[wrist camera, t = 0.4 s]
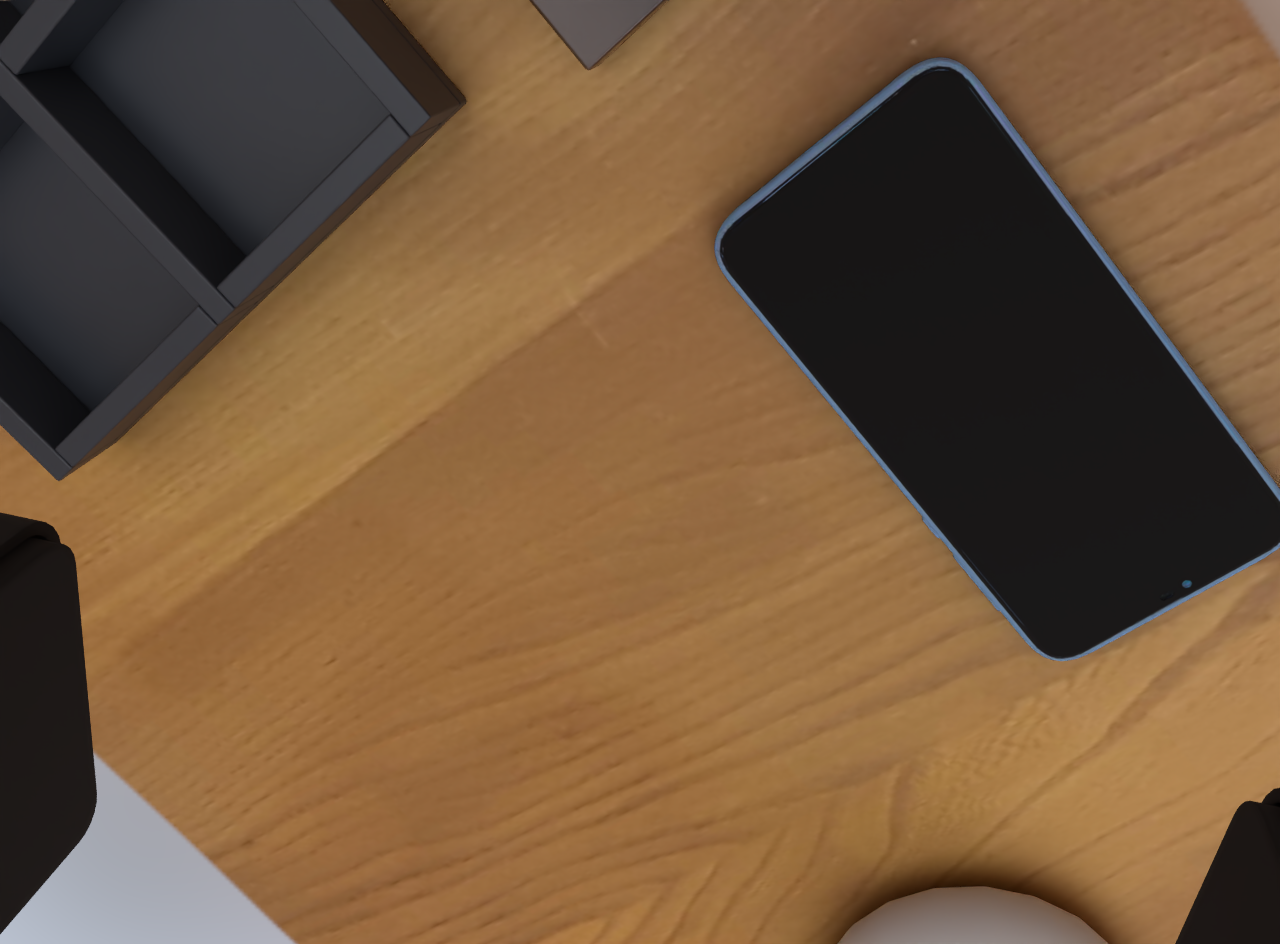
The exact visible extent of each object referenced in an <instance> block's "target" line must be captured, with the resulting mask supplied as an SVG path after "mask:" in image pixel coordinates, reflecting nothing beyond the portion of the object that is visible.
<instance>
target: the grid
mask: <svg viewBox="0 0 1280 944" xmlns="http://www.w3.org/2000/svg"><path fill="white" fill-rule="evenodd" d="M465 103H466V99H465V97H464V96H463V95H462V94H461V93H460V92H459V90H458V89H457V88H456V87H455V86H454V84H453V83H452V82H451V81H450V80H449V79H448V77H447V76H446V75H445V74H444V73H443V72H442V70H441V69H440V68H439V67H438V66H437V65H436V63H435V62H434V61H433V60H432V59H431V57H430V56H429V55H428V54H427V53H426V52H425V50H424V49H423V48H422V47H421V46H420V45H419V43H418V42H417V41H416V40H415V39H414V37H413V36H412V35H411V34H410V33H409V32H408V30H407V29H406V28H405V27H404V26H403V25H402V23H401V22H400V21H399V20H398V19H397V18H396V16H395V15H394V14H393V13H392V12H391V10H390V9H389V8H388V7H387V6H386V5H385V3H384V2H383V1H382V0H5V1H0V425H1V426H2V427H3V428H4V429H5V430H6V431H7V432H8V433H9V434H10V435H11V436H12V437H13V438H14V439H15V440H17V441H18V442H19V443H20V444H21V445H22V446H23V447H24V448H25V449H26V450H27V451H28V452H29V453H30V454H31V455H32V456H33V457H34V458H35V459H36V460H37V461H38V462H39V463H40V464H41V465H42V466H43V467H44V468H45V469H46V470H47V471H48V472H49V473H50V474H51V475H52V476H53V477H54V478H55V479H56V480H58V481H60V480H62V479H63V478H65V477H66V476H68V475H69V474H71V473H72V472H74V471H75V470H77V469H78V468H80V467H81V466H82V465H84V464H85V463H87V462H88V461H90V460H91V459H93V458H94V457H96V456H97V455H98V454H100V453H101V452H103V451H104V450H105V449H107V448H109V447H110V446H112V445H113V444H114V443H116V442H117V441H118V440H119V439H120V438H121V437H122V436H123V435H124V434H125V433H126V432H127V431H128V430H129V429H130V428H131V427H132V426H133V425H134V424H135V423H136V422H137V421H139V420H140V419H141V418H142V417H143V416H144V415H145V414H146V413H147V412H148V411H149V410H150V409H151V408H152V407H153V406H154V405H155V404H156V403H157V402H158V401H159V400H160V399H161V398H162V397H163V396H164V395H165V394H166V393H167V392H168V391H169V390H170V389H172V388H173V387H174V386H175V385H176V384H177V383H178V382H179V381H180V380H181V379H182V378H183V377H184V376H185V375H186V374H187V373H188V372H189V371H190V370H191V369H192V368H193V367H194V366H195V365H196V364H197V363H198V362H199V361H200V360H201V359H202V358H204V357H205V356H206V355H207V354H208V353H209V352H210V351H211V350H212V349H213V348H214V347H215V346H216V345H217V344H218V343H219V342H220V341H221V340H222V339H223V338H224V337H225V336H226V335H227V334H228V333H229V332H230V331H231V330H232V329H233V328H234V327H235V326H237V325H238V324H239V323H240V322H241V321H242V320H243V319H244V318H245V317H246V316H247V315H248V314H249V313H250V312H251V311H252V310H253V309H254V308H255V307H256V306H257V305H258V304H259V303H260V302H261V301H262V300H263V299H264V298H265V297H266V296H267V295H268V294H270V293H271V292H272V291H273V290H274V289H275V288H276V287H277V286H278V285H279V284H280V283H281V282H282V281H283V280H284V279H285V278H286V277H287V276H288V275H289V274H290V273H291V272H292V271H293V270H294V269H295V268H296V267H297V266H298V265H299V264H300V263H301V262H303V261H304V260H305V259H306V258H307V257H308V256H309V255H310V254H311V253H312V252H313V251H314V250H315V249H316V248H317V247H318V246H319V245H320V244H321V243H322V242H323V241H324V240H325V239H326V238H327V237H328V236H329V235H330V234H331V233H332V232H333V231H334V230H336V229H337V228H338V227H339V226H340V225H341V224H342V223H343V222H344V221H345V220H346V219H347V218H348V217H349V216H350V215H351V214H352V213H353V212H354V211H355V210H356V209H357V208H358V207H359V206H360V205H361V204H362V203H363V202H364V201H365V200H366V199H368V198H369V197H370V196H371V195H372V194H373V193H374V192H375V191H376V190H377V189H378V188H379V187H380V186H381V185H382V184H383V183H384V182H385V181H386V180H387V179H388V178H389V177H390V176H391V175H392V174H393V173H394V172H395V171H396V170H397V169H398V168H399V167H401V166H402V165H403V164H404V163H405V162H406V161H407V160H408V159H409V158H410V157H411V156H412V155H413V154H414V153H415V152H416V151H417V150H418V149H419V148H420V147H421V146H422V145H423V144H424V143H425V142H426V141H427V140H428V139H429V138H430V137H431V136H432V135H434V134H435V133H436V132H437V131H438V130H439V129H440V128H441V127H442V126H443V125H444V124H445V123H446V122H447V121H448V120H449V119H450V118H451V117H452V116H453V115H454V114H455V113H456V112H457V111H458V110H459V109H460V108H461V107H462V106H463V105H464V104H465Z"/></svg>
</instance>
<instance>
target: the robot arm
mask: <svg viewBox="0 0 1280 944" xmlns="http://www.w3.org/2000/svg"><path fill="white" fill-rule="evenodd" d="M96 802H97V790H96V779H95V768H94V757H93V746H92V735H91V724H90V713H89V702H88V691H87V680H86V669H85V658H84V647H83V637H82V626H81V615H80V604H79V593H78V582H77V571H76V562H75V558H74V554H73V552H72V551H71V549H70V548H69V547H68V546H66V545H64V544H61V543H60V539H59V535H58V534H57V532H56V530H55V529H54V527H53V526H51V525H49V524H47V523H46V522H42V521H37V520H32V519H28V518H23V517H18V516H14V515H9V514H4V513H0V934H1V933H2V932H3V930H4V929H5V928H6V927H7V926H8V925H9V923H10V922H11V921H12V920H13V919H14V918H15V916H16V915H17V914H18V913H19V912H20V911H21V909H22V908H23V907H24V906H25V905H26V904H27V902H28V901H29V900H30V899H31V898H32V896H33V895H34V894H35V893H36V892H37V891H38V890H39V888H40V887H41V886H42V885H43V884H44V883H45V881H46V880H47V879H48V878H49V877H50V876H51V874H52V873H53V872H54V871H55V870H56V869H57V867H58V866H59V865H60V864H61V863H62V862H63V860H64V859H65V858H66V857H67V856H68V855H69V853H70V852H71V851H72V850H73V849H74V847H75V846H76V845H77V844H78V843H79V842H80V840H81V839H82V838H83V836H84V835H85V833H86V831H87V829H88V827H89V825H90V823H91V821H92V818H93V815H94V812H95V807H96ZM1175 944H1280V788H1277V789H1273V790H1272V791H1271V792H1270V793H1269V794H1268V795H1266V797H1265V798H1264V800H1263V802H1262V803H1258V802H1254V801H1246V802H1244V803H1243V804H1241V805H1240V806H1239V807H1238V809H1237V811H1236V812H1235V814H1234V816H1233V818H1232V820H1231V823H1230V825H1229V827H1228V829H1227V831H1226V834H1225V836H1224V838H1223V840H1222V842H1221V844H1220V847H1219V849H1218V851H1217V853H1216V855H1215V858H1214V860H1213V862H1212V864H1211V866H1210V869H1209V871H1208V873H1207V875H1206V877H1205V880H1204V882H1203V884H1202V886H1201V888H1200V891H1199V893H1198V895H1197V897H1196V899H1195V902H1194V904H1193V906H1192V908H1191V910H1190V913H1189V915H1188V917H1187V919H1186V921H1185V924H1184V926H1183V928H1182V930H1181V932H1180V935H1179V937H1178V939H1177V941H1176V943H1175Z"/></svg>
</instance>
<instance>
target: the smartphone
mask: <svg viewBox="0 0 1280 944" xmlns="http://www.w3.org/2000/svg"><path fill="white" fill-rule="evenodd" d="M714 250H715V257H716V259H717V262H718V265H719V267H720V269H721V270H722V272H723V274H724V275H725V277H726V278H727V280H728V281H729V282H730V283H731V285H732V286H733V287H734V288H735V289H736V291H737V292H738V293H739V294H740V296H741V297H742V298H743V299H744V300H745V302H746V303H747V304H748V305H749V306H750V308H751V309H752V310H753V311H754V313H755V314H756V315H757V316H758V317H759V319H760V320H761V321H762V322H763V323H764V325H765V326H766V327H767V328H768V330H769V331H770V332H771V333H772V334H773V336H774V337H775V338H776V339H777V340H778V342H779V343H780V344H781V345H782V347H783V348H784V349H785V350H786V351H787V353H788V354H789V355H790V356H791V357H792V359H793V360H794V361H795V362H796V364H797V365H798V366H799V367H800V368H801V370H802V371H803V372H804V373H805V374H806V376H807V377H808V378H809V379H810V381H811V382H812V383H813V384H814V385H815V387H816V388H817V389H818V390H819V391H820V393H821V394H822V395H823V396H824V398H825V399H826V400H827V401H828V402H829V404H830V405H831V406H832V407H833V408H834V410H835V411H836V412H837V413H838V415H839V416H840V417H841V418H842V419H843V421H844V422H845V423H846V424H847V425H848V427H849V428H850V429H851V430H852V432H853V433H854V434H855V435H856V436H857V438H858V439H859V440H860V441H861V442H862V444H863V445H864V446H865V447H866V449H867V450H868V451H869V452H870V453H871V455H872V456H873V457H874V458H875V459H876V461H877V462H878V463H879V464H880V466H881V467H882V468H883V469H884V470H885V472H886V473H887V474H888V475H889V476H890V478H891V479H892V480H893V481H894V483H895V484H896V485H897V486H898V487H899V489H900V490H901V491H902V492H903V493H904V495H905V496H906V497H907V498H908V500H909V501H910V502H911V503H912V504H913V506H914V507H915V508H916V509H917V510H918V512H919V513H920V514H921V515H922V520H923V521H924V523H925V524H926V525H927V526H928V528H929V529H930V530H931V531H932V532H933V534H934V535H935V536H936V537H937V538H941V540H942V541H943V542H944V543H945V544H946V546H947V547H948V548H949V549H950V551H951V552H952V553H953V557H954V558H955V560H956V561H957V562H958V563H959V564H960V566H961V567H962V568H963V569H964V570H965V572H966V573H967V574H968V575H969V576H970V578H971V579H972V580H973V581H974V583H975V584H976V585H977V586H978V587H979V589H980V590H981V591H982V592H983V593H984V595H985V596H986V597H987V598H988V599H989V601H990V602H991V603H992V604H993V606H994V607H995V608H996V609H997V610H998V611H1001V612H1002V614H1003V615H1004V616H1005V617H1006V619H1007V620H1008V621H1009V622H1010V623H1011V625H1012V626H1013V627H1014V628H1015V629H1016V631H1017V632H1018V633H1019V634H1020V636H1021V637H1022V638H1023V639H1024V640H1025V641H1026V642H1027V644H1028V645H1029V646H1030V647H1031V648H1032V649H1034V650H1035V651H1036V652H1037V653H1039V654H1040V655H1042V656H1043V657H1045V658H1048V659H1051V660H1057V661H1068V660H1072V659H1077V658H1080V657H1082V656H1084V655H1087V654H1089V653H1091V652H1093V651H1095V650H1097V649H1099V648H1101V647H1103V646H1104V645H1106V644H1108V643H1110V642H1112V641H1114V640H1115V639H1117V638H1119V637H1121V636H1123V635H1125V634H1126V633H1128V632H1130V631H1132V630H1134V629H1135V628H1137V627H1139V626H1141V625H1143V624H1145V623H1146V622H1148V621H1150V620H1152V619H1154V618H1156V617H1157V616H1159V615H1161V614H1163V613H1165V612H1167V611H1168V610H1170V609H1172V608H1174V607H1176V606H1178V605H1179V604H1181V603H1183V602H1185V601H1187V600H1188V599H1190V598H1192V597H1194V596H1196V595H1198V594H1199V593H1201V592H1203V591H1205V590H1207V589H1209V588H1210V587H1212V586H1214V585H1216V584H1218V583H1220V582H1221V581H1223V580H1225V579H1227V578H1229V577H1231V576H1232V575H1234V574H1236V573H1238V572H1240V571H1242V570H1243V569H1245V568H1247V567H1249V566H1251V565H1252V564H1254V563H1256V562H1258V561H1260V560H1262V559H1263V558H1265V557H1266V556H1268V555H1269V554H1271V553H1272V552H1274V551H1275V550H1277V549H1278V548H1279V547H1280V489H1279V487H1278V486H1277V485H1276V483H1275V482H1274V480H1273V479H1272V478H1271V476H1270V475H1269V474H1268V472H1267V471H1266V470H1265V468H1264V467H1263V465H1262V464H1261V463H1260V461H1259V460H1258V459H1257V457H1256V456H1255V455H1254V453H1253V452H1252V451H1251V449H1250V448H1249V446H1248V445H1247V444H1246V442H1245V441H1244V440H1243V438H1242V437H1241V436H1240V434H1239V433H1238V431H1237V430H1236V429H1235V427H1234V426H1233V425H1232V423H1231V422H1230V421H1229V419H1228V418H1227V417H1226V415H1225V414H1224V412H1223V411H1222V410H1221V408H1220V407H1219V406H1218V404H1217V403H1216V402H1215V400H1214V399H1213V398H1212V396H1211V395H1210V393H1209V392H1208V391H1207V389H1206V388H1205V387H1204V385H1203V384H1202V383H1201V381H1200V380H1199V378H1198V377H1197V376H1196V374H1195V373H1194V372H1193V370H1192V369H1191V368H1190V366H1189V365H1188V364H1187V362H1186V361H1185V359H1184V358H1183V357H1182V355H1181V354H1180V353H1179V351H1178V350H1177V349H1176V347H1175V346H1174V344H1173V343H1172V342H1171V340H1170V339H1169V338H1168V336H1167V335H1166V334H1165V332H1164V331H1163V330H1162V328H1161V327H1160V325H1159V324H1158V323H1157V321H1156V320H1155V319H1154V317H1153V316H1152V315H1151V313H1150V312H1149V311H1148V309H1147V308H1146V306H1145V305H1144V304H1143V302H1142V301H1141V300H1140V298H1139V297H1138V296H1137V294H1136V293H1135V291H1134V290H1133V289H1132V287H1131V286H1130V285H1129V283H1128V282H1127V281H1126V279H1125V278H1124V277H1123V275H1122V274H1121V272H1120V271H1119V270H1118V268H1117V267H1116V266H1115V264H1114V263H1113V262H1112V260H1111V259H1110V257H1109V256H1108V255H1107V253H1106V252H1105V251H1104V249H1103V248H1102V247H1101V245H1100V244H1099V243H1098V241H1097V240H1096V238H1095V237H1094V236H1093V234H1092V233H1091V232H1090V230H1089V229H1088V228H1087V226H1086V225H1085V224H1084V222H1083V221H1082V219H1081V218H1080V217H1079V215H1078V214H1077V213H1076V211H1075V210H1074V209H1073V207H1072V206H1071V204H1070V203H1069V202H1068V200H1067V199H1066V198H1065V196H1064V195H1063V194H1062V192H1061V191H1060V190H1059V188H1058V187H1057V185H1056V184H1055V183H1054V181H1053V180H1052V179H1051V177H1050V176H1049V175H1048V173H1047V172H1046V170H1045V169H1044V168H1043V166H1042V165H1041V164H1040V162H1039V161H1038V160H1037V158H1036V157H1035V156H1034V154H1033V153H1032V151H1031V150H1030V149H1029V147H1028V146H1027V145H1026V143H1025V142H1024V141H1023V139H1022V138H1021V136H1020V135H1019V134H1018V132H1017V131H1016V130H1015V128H1014V127H1013V126H1012V124H1011V123H1010V122H1009V120H1008V119H1007V117H1006V116H1005V115H1004V113H1003V112H1002V111H1001V109H1000V108H999V107H998V105H997V104H996V103H995V101H994V100H993V98H992V97H991V96H990V94H989V93H988V92H987V90H986V89H985V88H984V86H983V85H982V83H981V82H980V81H979V80H978V79H977V78H976V76H975V75H974V74H973V73H972V72H971V71H970V70H969V69H968V68H966V67H965V66H964V65H962V64H961V63H959V62H957V61H955V60H952V59H949V58H941V57H938V58H931V59H927V60H925V61H922V62H920V63H918V64H916V65H914V66H912V67H911V68H909V69H908V70H906V71H905V72H903V73H902V74H901V75H899V76H898V77H897V78H896V79H894V80H893V81H892V82H891V83H889V84H888V85H887V86H886V87H884V88H883V89H882V90H881V91H880V92H878V93H877V94H876V95H875V96H873V97H872V98H871V99H870V100H868V101H867V102H866V103H865V104H864V105H862V106H861V107H860V108H859V109H857V110H856V111H855V112H854V113H852V114H851V115H850V116H849V117H848V118H846V119H845V120H844V121H843V122H841V123H840V124H839V125H838V126H836V127H835V128H834V129H833V130H832V131H830V132H829V133H828V134H827V135H825V136H824V137H823V138H822V139H820V140H819V141H818V142H817V143H815V144H814V145H813V146H812V147H811V148H809V149H808V150H807V151H806V152H804V153H803V154H802V155H801V156H800V157H798V158H797V159H796V160H795V161H794V162H792V163H791V164H790V165H789V166H787V167H786V168H785V169H784V170H783V171H781V172H780V173H779V174H778V175H776V176H775V177H774V178H773V179H772V180H770V181H769V182H768V183H767V184H765V185H764V186H763V187H762V188H760V189H759V190H758V191H757V192H756V193H754V194H753V195H752V196H751V197H749V198H748V199H747V200H746V201H745V202H743V203H742V204H741V205H740V206H738V207H737V208H736V209H735V210H734V211H733V212H732V213H731V214H730V215H729V216H728V217H727V219H726V220H725V221H724V222H723V224H722V226H721V228H720V229H719V231H718V233H717V236H716V239H715V246H714Z"/></svg>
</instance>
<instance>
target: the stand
mask: <svg viewBox="0 0 1280 944" xmlns="http://www.w3.org/2000/svg"><path fill="white" fill-rule="evenodd" d="M667 1H668V0H530V2H531V3H532V4H533V5H534V6H535V8H536V9H537V10H538V11H539V13H540V14H541V15H542V16H543V17H544V19H545V20H546V21H547V22H548V24H549V25H550V26H551V27H552V28H553V30H554V31H555V32H556V33H557V35H558V36H559V37H560V38H561V39H562V41H563V42H564V43H565V44H566V46H567V47H568V48H569V49H570V50H571V52H572V53H573V54H574V55H575V57H576V58H577V59H578V60H579V61H580V63H581V64H582V65H583V66H584V67H585V69H587V70H591V69H593V68H595V67H597V66H599V65H600V64H601V63H602V62H603V61H604V60H605V59H606V58H607V57H608V56H609V55H610V54H611V53H613V52H614V51H615V50H616V49H617V48H618V47H619V46H620V45H621V44H622V43H623V42H624V41H625V40H626V39H628V38H629V37H630V36H631V35H632V34H633V33H634V32H635V31H636V30H637V29H638V28H639V27H640V26H642V25H643V24H644V23H645V22H646V21H647V20H648V19H649V18H650V17H651V16H652V15H653V14H654V13H656V12H657V11H658V10H659V9H660V8H661V7H662V6H663V5H664V4H665V3H666V2H667Z"/></svg>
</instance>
